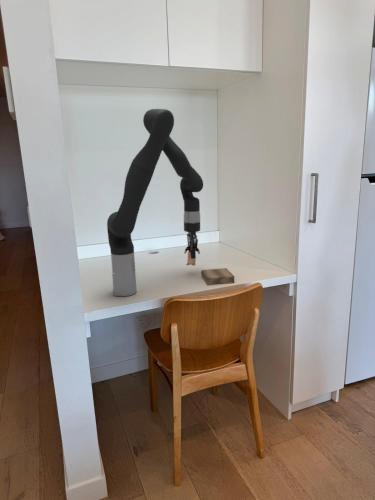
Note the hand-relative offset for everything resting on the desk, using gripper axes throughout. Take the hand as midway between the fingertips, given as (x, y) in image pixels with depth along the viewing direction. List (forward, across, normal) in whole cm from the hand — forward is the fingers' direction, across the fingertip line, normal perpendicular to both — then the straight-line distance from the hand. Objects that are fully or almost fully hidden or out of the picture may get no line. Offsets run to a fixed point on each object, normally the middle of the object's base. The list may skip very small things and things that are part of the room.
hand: (192, 256), depth 161 cm
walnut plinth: (+8, +10, +9) cm, 16 cm away
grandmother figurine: (+4, 0, 0) cm, 4 cm away
